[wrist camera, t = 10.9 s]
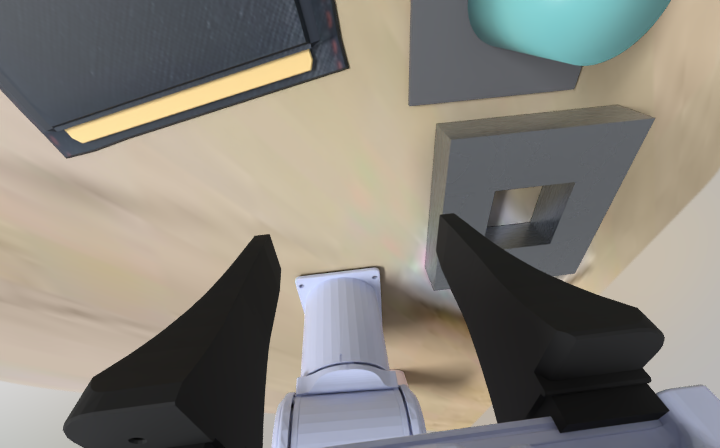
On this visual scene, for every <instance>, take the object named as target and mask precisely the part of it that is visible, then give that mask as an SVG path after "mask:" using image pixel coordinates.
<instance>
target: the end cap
mask: <svg viewBox="0 0 720 448" xmlns="http://www.w3.org/2000/svg"><path fill="white" fill-rule="evenodd" d="M670 1H671V0H468V15H469V20H470V24H471V27H472V29H473V31H474V32H475V34H476V35H477V37H478V38H479V39H480V40H482V41H483V42H484V43H486V44H488V45H491V46H494V47H499V48H503V49H507V50H512V51H516V52H520V53H525V54H529V55H533V56H538V57H542V58H546V59H551V60H555V61H559V62H564V63H568V64H572V65H579V66H589V65H594V64H598V63H602V62H605V61H607V60H609V59H611V58H613V57H615V56H617V55H619V54H621V53H622V52H624V51H625V50H626V49H628V48H629V47H631V46H632V45H633V44H634V43H636V42H637V41H638V40H639V39H640V38H641V37H642V36H643V35H644V34H645V33H646V32H647V31H648V30H649V29H650V28H651V27H652V26H653V25H654V23H655V22H656V21H657V20H658V18H659V17H660V16H661V15H662V13H663V12H664V10H665V9H666V7H667V6H668V4H669V3H670Z"/></svg>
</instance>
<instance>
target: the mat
mask: <svg viewBox="0 0 720 448" xmlns="http://www.w3.org/2000/svg"><path fill="white" fill-rule="evenodd" d="M581 68H582V66H579V65H572V64H568V63H564V62H559V61H555V60H551V59H546V58H542V57H538V56H533V55H529V54H525V53H520V52H516V51H512V50H507V49H503V48H499V47H494V46H491V45H488V44H486V43H484V42H483V41H482V40H480V39H479V38H478V37H477V35H476V34H475V32H474V31H473V29H472V27H471V24H470V20H469V15H468V0H411V18H410V61H409V103H408V104H409V106H416V105H425V104H435V103H445V102H454V101H464V100H474V99H483V98H493V97H503V96H512V95H522V94H532V93H541V92H551V91H561V90H570V89H574V88H575V85H576V82H577V79H578V76H579V73H580V70H581Z"/></svg>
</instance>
